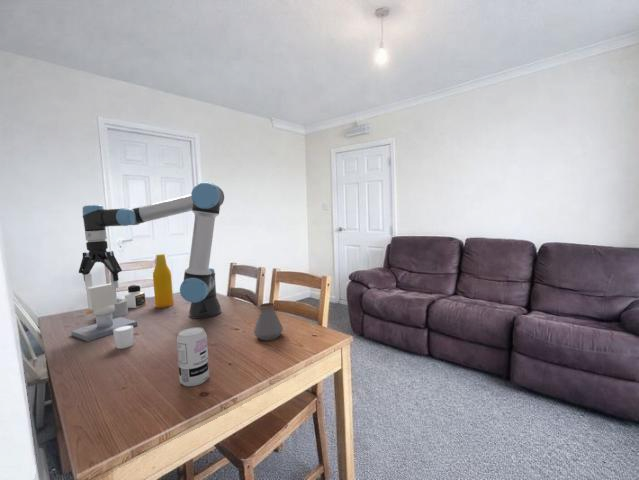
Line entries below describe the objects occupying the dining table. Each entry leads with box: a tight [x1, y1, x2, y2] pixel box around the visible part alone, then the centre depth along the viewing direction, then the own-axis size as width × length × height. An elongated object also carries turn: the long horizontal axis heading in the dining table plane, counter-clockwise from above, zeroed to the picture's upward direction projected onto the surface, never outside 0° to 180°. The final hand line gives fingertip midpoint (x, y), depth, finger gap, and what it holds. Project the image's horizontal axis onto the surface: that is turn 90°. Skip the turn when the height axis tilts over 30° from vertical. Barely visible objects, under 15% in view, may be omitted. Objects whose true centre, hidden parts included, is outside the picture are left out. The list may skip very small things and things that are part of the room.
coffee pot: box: [243, 294, 284, 341], centre depth 128 cm, size 21×12×15 cm, turn 46°
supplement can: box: [175, 326, 210, 387], centre depth 93 cm, size 8×8×15 cm
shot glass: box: [113, 325, 134, 350], centre depth 122 cm, size 7×7×7 cm
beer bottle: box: [152, 253, 174, 309], centre depth 177 cm, size 9×9×29 cm
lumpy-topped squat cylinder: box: [112, 297, 129, 319], centre depth 162 cm, size 10×13×9 cm
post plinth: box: [70, 312, 138, 342], centre depth 141 cm, size 15×20×8 cm
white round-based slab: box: [85, 282, 118, 316], centre depth 139 cm, size 12×8×12 cm
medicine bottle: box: [124, 284, 146, 309], centre depth 179 cm, size 7×7×12 cm
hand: (102, 288), depth 139 cm, fingers open, 13 cm apart
